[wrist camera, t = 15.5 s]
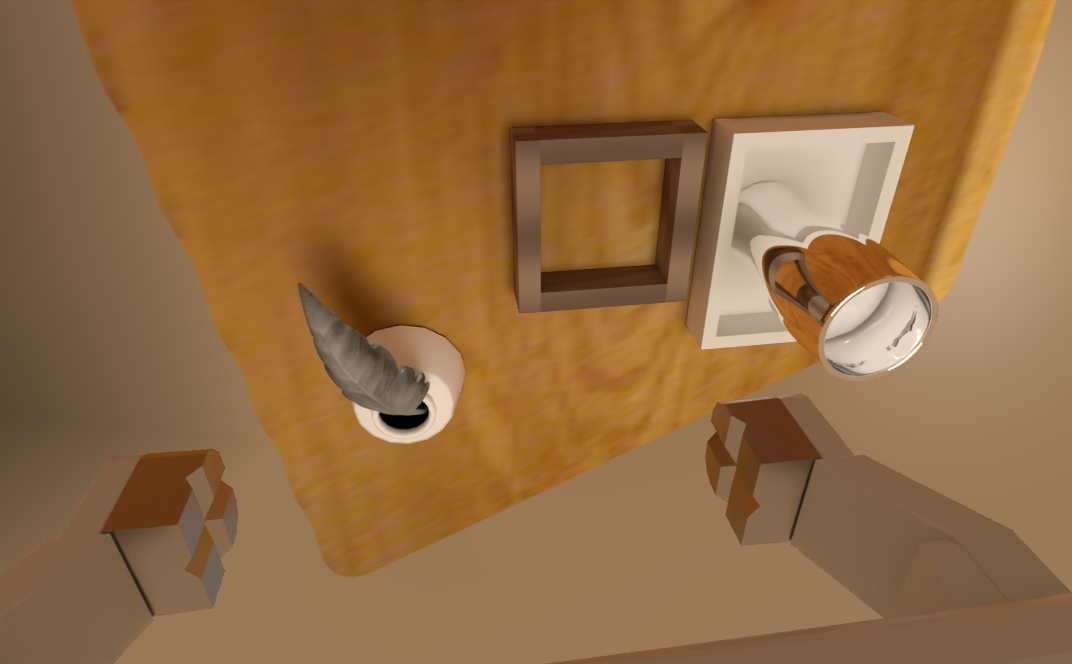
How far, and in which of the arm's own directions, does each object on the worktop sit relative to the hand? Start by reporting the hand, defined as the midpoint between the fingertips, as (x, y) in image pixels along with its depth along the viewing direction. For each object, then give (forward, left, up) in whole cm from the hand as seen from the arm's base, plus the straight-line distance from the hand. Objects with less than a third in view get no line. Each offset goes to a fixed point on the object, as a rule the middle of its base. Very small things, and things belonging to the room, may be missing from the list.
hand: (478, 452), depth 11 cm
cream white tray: (+12, +23, -34) cm, 43 cm away
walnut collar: (+10, +10, -34) cm, 37 cm away
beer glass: (+11, +22, -34) cm, 42 cm away
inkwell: (+18, -6, -34) cm, 40 cm away
